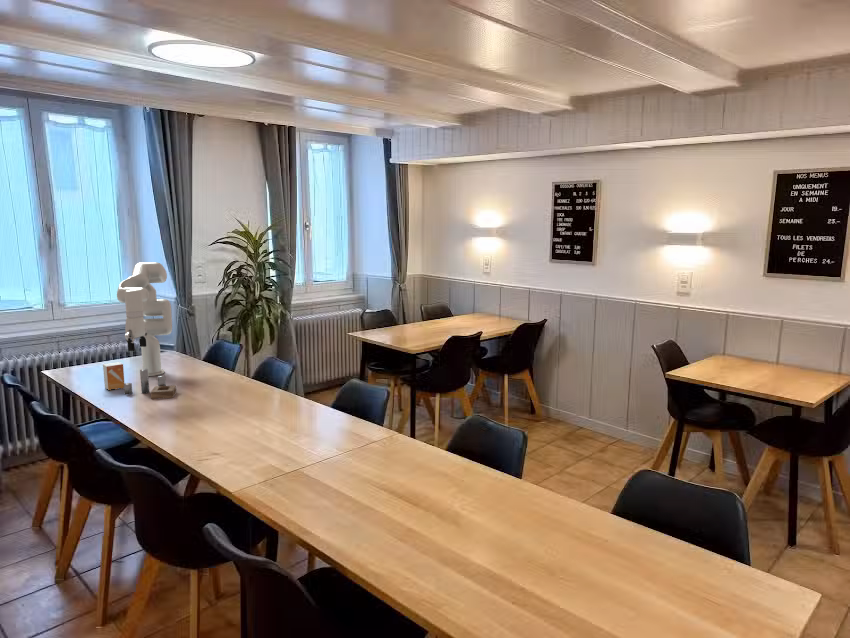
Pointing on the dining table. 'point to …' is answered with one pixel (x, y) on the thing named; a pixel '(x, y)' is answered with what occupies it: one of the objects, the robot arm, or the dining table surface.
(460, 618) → the dining table surface
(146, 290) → the robot arm
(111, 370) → the small box
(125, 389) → the short pin
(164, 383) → the medium pin
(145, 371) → the long pin
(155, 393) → the socket block
